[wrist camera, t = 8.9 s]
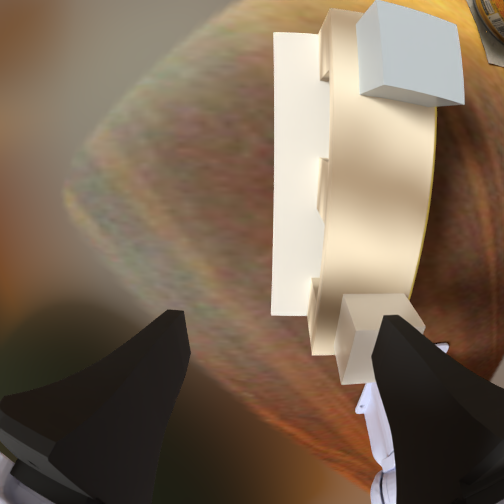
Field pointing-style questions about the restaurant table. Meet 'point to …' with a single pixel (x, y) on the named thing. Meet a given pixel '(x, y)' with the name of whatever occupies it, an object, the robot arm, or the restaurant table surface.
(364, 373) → the block
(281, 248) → the dock
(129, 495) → the robot arm
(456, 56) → the light grey square block
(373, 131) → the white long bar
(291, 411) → the restaurant table surface
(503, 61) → the condiment
